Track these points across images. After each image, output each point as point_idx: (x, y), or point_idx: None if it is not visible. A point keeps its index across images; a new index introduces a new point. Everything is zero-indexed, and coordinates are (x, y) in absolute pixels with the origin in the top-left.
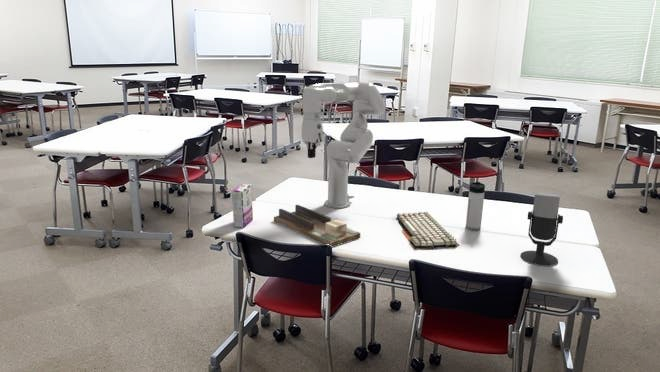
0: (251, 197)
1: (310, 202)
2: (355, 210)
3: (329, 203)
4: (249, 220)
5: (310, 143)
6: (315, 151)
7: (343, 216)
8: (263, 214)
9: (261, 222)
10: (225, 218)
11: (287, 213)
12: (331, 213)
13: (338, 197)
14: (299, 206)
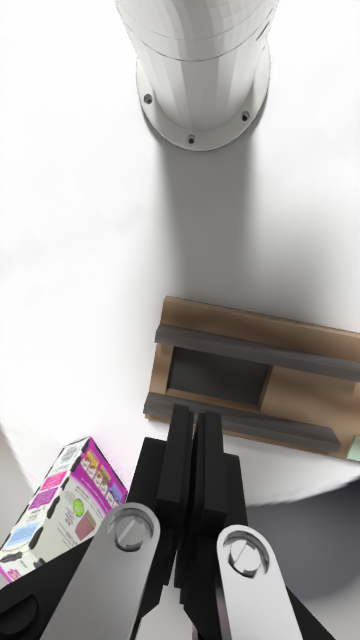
0: (59, 502)
1: (87, 154)
2: (327, 93)
3: (186, 129)
4: (104, 464)
5: (78, 625)
6: (224, 466)
7: (321, 210)
8: (74, 384)
9: (128, 436)
10: (28, 469)
11: (195, 422)
12: (256, 214)
13: (238, 102)
14: (179, 345)
